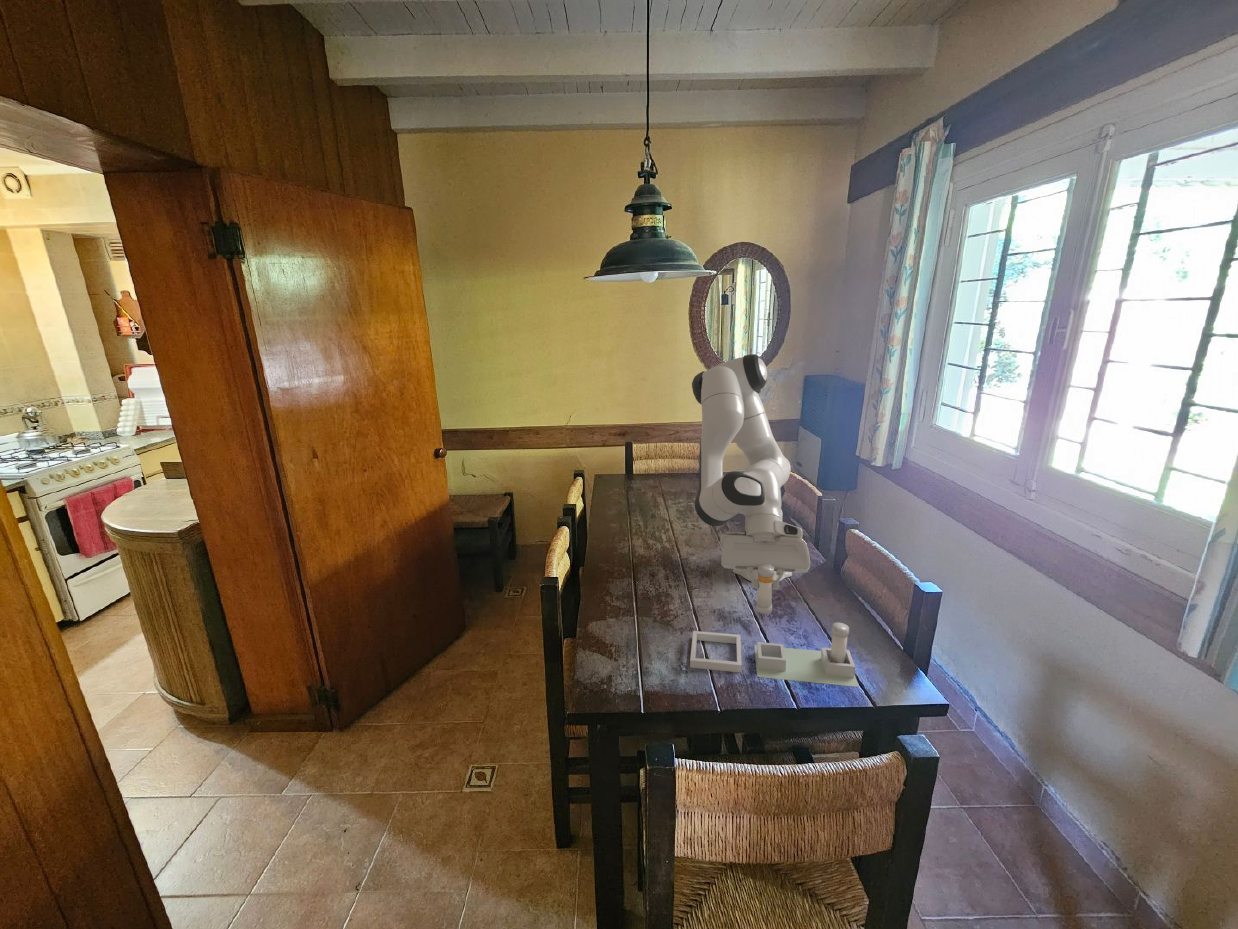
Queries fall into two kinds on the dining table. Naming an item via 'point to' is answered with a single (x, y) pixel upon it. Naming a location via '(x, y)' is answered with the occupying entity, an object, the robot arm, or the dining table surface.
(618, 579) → the dining table surface
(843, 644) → the peg
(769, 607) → the orange-banded cylinder plug
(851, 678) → the fuse board
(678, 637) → the dining table surface
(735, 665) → the parts tray
